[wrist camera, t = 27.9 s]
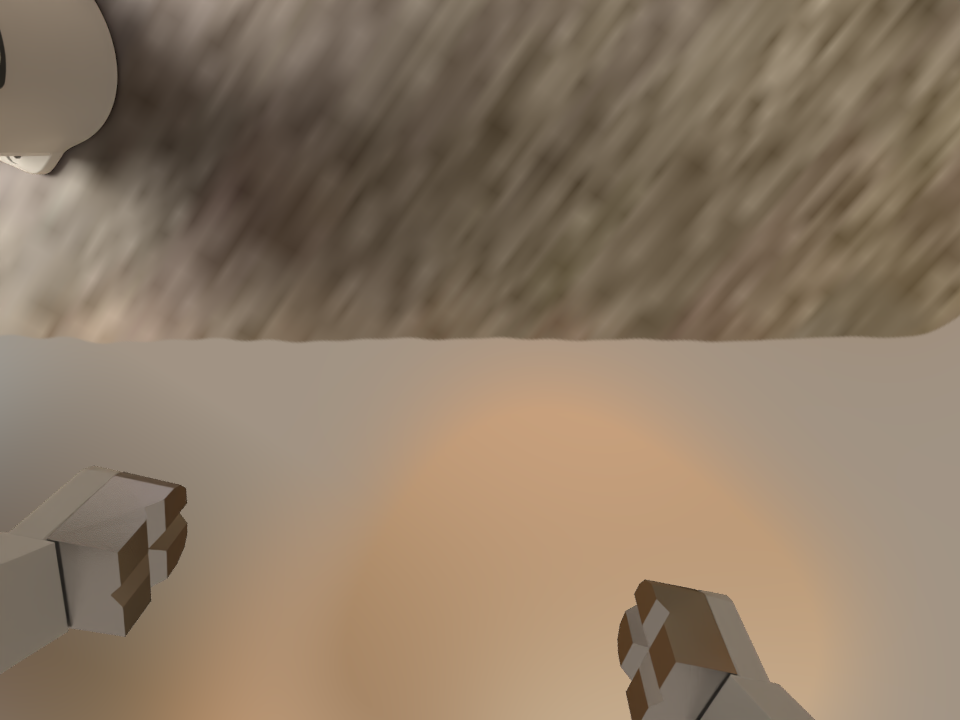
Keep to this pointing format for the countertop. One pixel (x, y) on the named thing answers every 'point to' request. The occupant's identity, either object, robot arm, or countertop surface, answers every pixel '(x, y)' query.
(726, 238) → the countertop surface
